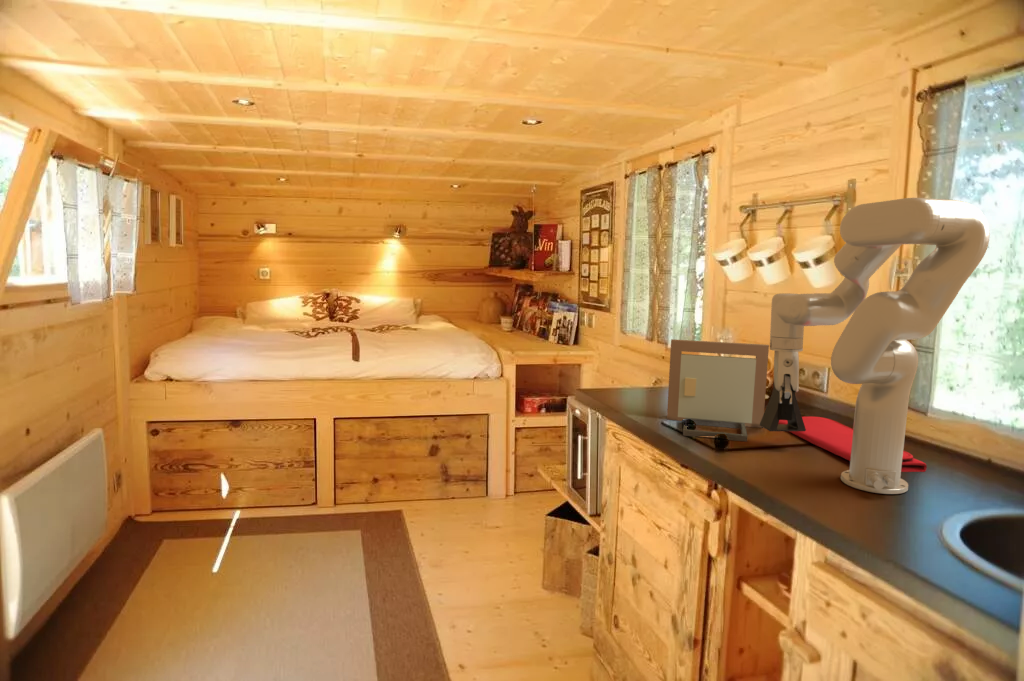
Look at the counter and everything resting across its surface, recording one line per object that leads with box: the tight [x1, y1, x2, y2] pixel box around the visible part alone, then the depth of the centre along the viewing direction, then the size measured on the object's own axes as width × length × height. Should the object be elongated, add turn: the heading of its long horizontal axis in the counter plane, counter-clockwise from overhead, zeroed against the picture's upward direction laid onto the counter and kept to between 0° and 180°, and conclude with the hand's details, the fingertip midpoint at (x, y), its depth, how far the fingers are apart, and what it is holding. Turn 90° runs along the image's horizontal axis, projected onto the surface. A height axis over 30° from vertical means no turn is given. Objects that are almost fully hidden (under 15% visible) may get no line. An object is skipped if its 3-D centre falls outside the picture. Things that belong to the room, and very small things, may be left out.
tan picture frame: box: [666, 338, 770, 429], centre depth 191 cm, size 4×26×23 cm, turn 74°
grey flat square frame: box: [682, 418, 748, 442], centre depth 182 cm, size 14×16×2 cm
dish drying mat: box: [778, 415, 927, 473], centre depth 171 cm, size 16×41×4 cm, turn 6°
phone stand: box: [760, 382, 806, 432], centre depth 166 cm, size 9×6×12 cm, turn 91°
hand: (782, 416), depth 166 cm, fingers closed on phone stand, 6 cm apart
